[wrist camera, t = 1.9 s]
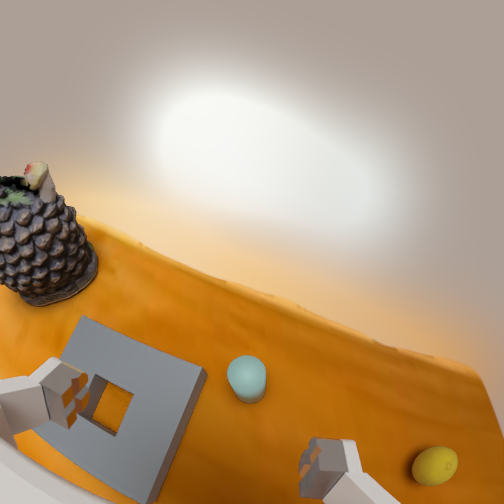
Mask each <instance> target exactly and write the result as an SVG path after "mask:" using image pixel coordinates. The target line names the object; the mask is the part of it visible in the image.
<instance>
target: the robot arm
mask: <svg viewBox="0 0 504 504" xmlns="http://www.w3.org/2000/svg"><path fill="white" fill-rule="evenodd" d="M87 382H88V374H87V373H85V372H83V371H81V370H79V369H77V368H75V367H73V366H71V365H69V364H68V363H66V362H63V361H61V360H60V359H58V358H56V357H51V358H49V359H48V360H47V361H46V362H45V363H44V364H42V365H41V366H40V367H39V368H38V369H37V370H36V371H35V372H33V373H32V374H31V375H30V376H29V377H27V376H20V377H14V378H8V379H2V380H0V504H116V503H113V502H111V501H109V500H106V499H104V498H102V497H100V496H97V495H95V494H93V493H91V492H89V491H87V490H85V489H83V488H81V487H79V486H77V485H75V484H73V483H71V482H69V481H67V480H66V479H64V478H62V477H60V476H59V475H57V474H55V473H53V472H52V471H50V470H48V469H47V468H45V467H43V466H42V465H40V464H39V463H37V462H35V461H34V460H32V459H31V458H29V457H28V456H26V455H25V454H23V453H22V452H20V451H19V450H18V447H17V444H16V442H15V439H14V437H13V435H15V434H18V433H21V432H24V431H26V430H29V429H32V428H34V427H37V426H39V425H42V424H44V423H47V422H50V420H51V421H53V422H54V423H56V424H58V425H60V426H62V427H64V428H66V429H68V430H69V429H70V428H71V426H72V425H73V424H74V422H75V421H76V420H77V415H76V414H77V413H80V412H83V411H84V409H85V408H86V406H87V404H88V401H89V396H90V393H89V389H88V387H87V386H86V384H87ZM299 474H300V476H301V477H302V480H301V481H300V483H299V489H300V497H304V498H315V499H323V502H324V503H325V504H401V503H399V502H398V501H397V500H396V499H395V498H394V497H393V496H391V495H390V494H389V493H388V492H387V491H386V490H385V489H384V488H382V487H381V486H380V485H379V484H378V483H377V482H376V481H375V480H374V479H373V478H371V477H370V476H369V475H368V474H367V473H363V471H362V467H361V463H360V459H359V455H358V451H357V447H356V443H355V441H354V440H344V439H332V438H321V437H313V438H312V439H311V440H310V442H309V449H307V450H305V451H304V452H303V454H302V456H301V459H300V462H299Z"/></svg>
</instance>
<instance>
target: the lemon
mask: <svg viewBox="0 0 504 504" xmlns="http://www.w3.org/2000/svg"><path fill="white" fill-rule="evenodd" d="M457 465H458V458H457V455H456V453H455V452H454V451H453V450H452V449H450V448H448V447H444V446H434V447H431V448H428V449H426V450H424V451H422V452H421V453H420V454H419V455H418V456H417V457H416V459H415V460H414V463H413V466H412V475H413V477H414V479H415V480H416V481H417V482H418V483H420V484H422V485H425V486H435V485H439V484H442V483H444V482H446V481H447V480H448V479H450V478H451V477H452V475H453V474H454V473H455V471H456V468H457Z"/></svg>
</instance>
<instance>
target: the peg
mask: <svg viewBox="0 0 504 504" xmlns="http://www.w3.org/2000/svg"><path fill="white" fill-rule="evenodd" d="M227 377H228V380H229V382H230V384H231V386H232V388H233V390H234V392H235V394H236V396H237V397H238V398H239V399H240V400H241V401H242V402H245V403H249V404H250V403H256V402H258V401H260V400H261V399H262V398H263V396H264V394H265V391H266V370H265V367H264V365H263V363H262V362H261V361H260V360H259V359H257V358H256V357H253V356H248V355H245V356H240V357H238V358H236V359H235V360H233V361H232V362H231V364H230V365H229V367H228V371H227Z"/></svg>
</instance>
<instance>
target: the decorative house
mask: <svg viewBox="0 0 504 504" xmlns="http://www.w3.org/2000/svg"><path fill="white" fill-rule="evenodd" d="M25 174H26V177H24V176H11V177H7V176H4V177H1V176H0V284H1V285H4V284H5V285H6V287H8V288H9V289H11V290H13V291H14V292H19V294H20V296H21V298H22V299H23V300H24V301H25V302H26V303H28V304H31V305H34V306H41V305H46V304H50V303H53V302H56V301H60V300H61V299H67V298H69V297H71V296H72V295H74V294H75V293H77V292H78V291H80V289H83V288H84V287H85V286H86V285H88V283H90V281H91V280H92V279H93V278H94V276H95V275H96V271H97V261H98V257H97V255H96V253H95V251H94V249H93V246H92V244H91V243H90V242H89V241H87V239H86V238H87V236H86V234H85V232H84V227H83V226H81V225H80V224H78V223H77V221H76V210H75V208H74V207H71V206H66V204H65V203H64V197H63V196H62V195H58V194H57V192H56V191H55V185H54V183H53V181H52V178H51V176H50V174H49V170H48V165H47V164H46V163H44V162H34V163H30V164H28V165H27V168H26V169H25V172H24V175H25Z"/></svg>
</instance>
